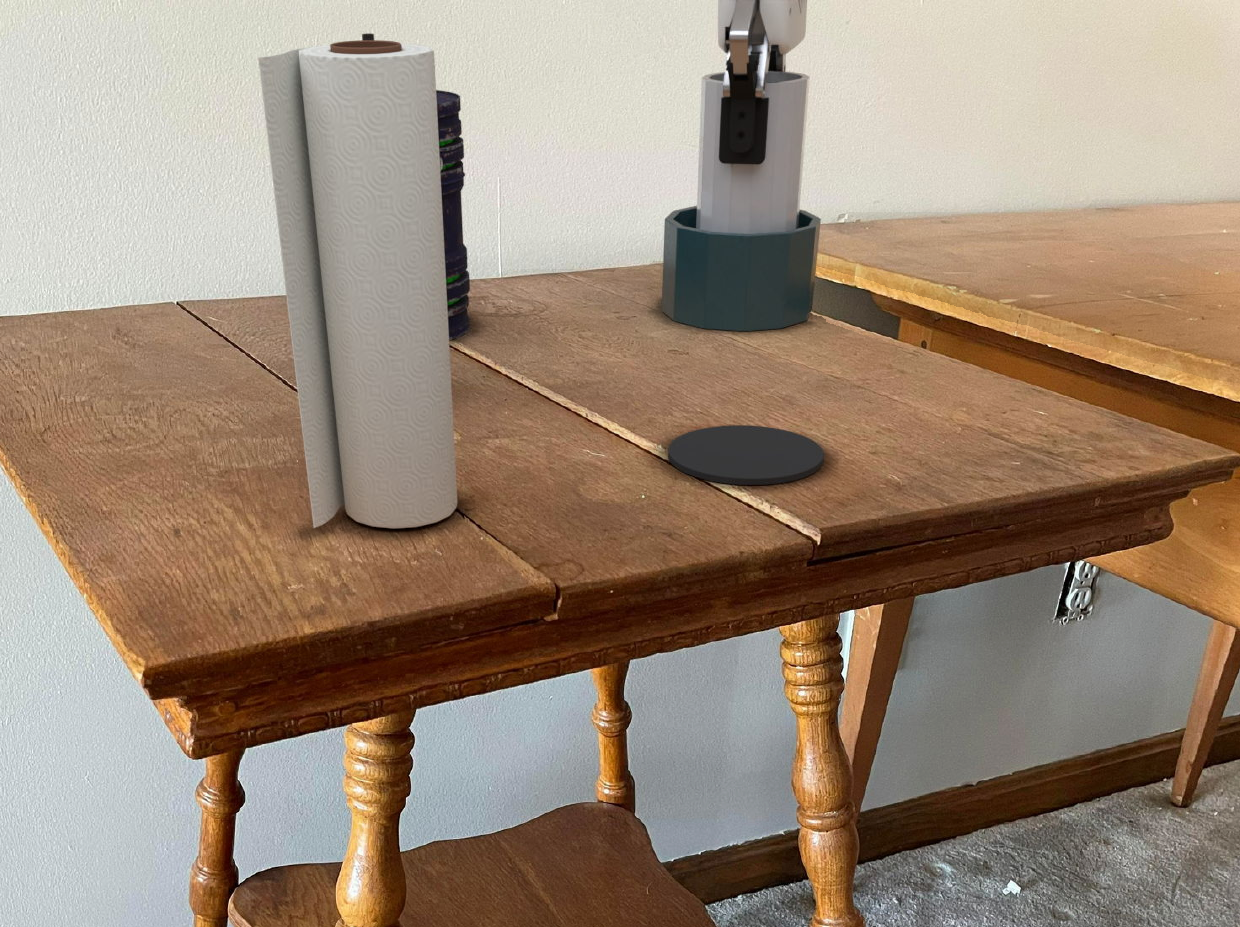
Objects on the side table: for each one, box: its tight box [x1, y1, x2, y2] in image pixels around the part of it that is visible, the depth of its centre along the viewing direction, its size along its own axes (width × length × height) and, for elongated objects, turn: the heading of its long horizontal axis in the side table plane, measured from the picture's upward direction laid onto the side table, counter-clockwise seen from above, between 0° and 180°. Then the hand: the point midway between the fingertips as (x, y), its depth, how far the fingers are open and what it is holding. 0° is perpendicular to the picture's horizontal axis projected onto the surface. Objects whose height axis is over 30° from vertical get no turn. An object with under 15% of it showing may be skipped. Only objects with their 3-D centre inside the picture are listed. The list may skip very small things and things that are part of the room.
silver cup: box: [696, 71, 811, 234], centre depth 100 cm, size 7×7×12 cm
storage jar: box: [436, 89, 471, 341], centre depth 98 cm, size 10×10×15 cm
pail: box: [661, 205, 822, 332], centre depth 104 cm, size 11×11×6 cm
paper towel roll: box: [257, 39, 458, 529], centre depth 68 cm, size 7×6×21 cm
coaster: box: [667, 424, 825, 486], centre depth 80 cm, size 9×9×1 cm
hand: (751, 151), depth 100 cm, fingers closed on silver cup, 7 cm apart
